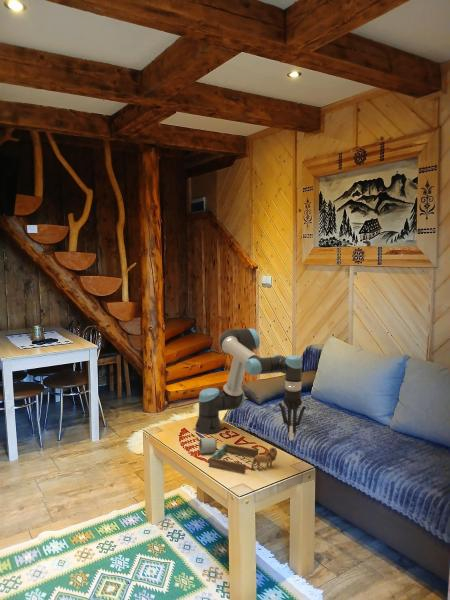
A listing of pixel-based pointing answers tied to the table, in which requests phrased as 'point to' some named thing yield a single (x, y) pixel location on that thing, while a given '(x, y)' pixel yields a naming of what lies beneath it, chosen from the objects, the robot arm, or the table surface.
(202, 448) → the ceramic mug
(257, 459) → the lion figurine
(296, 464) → the table surface
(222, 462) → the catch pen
